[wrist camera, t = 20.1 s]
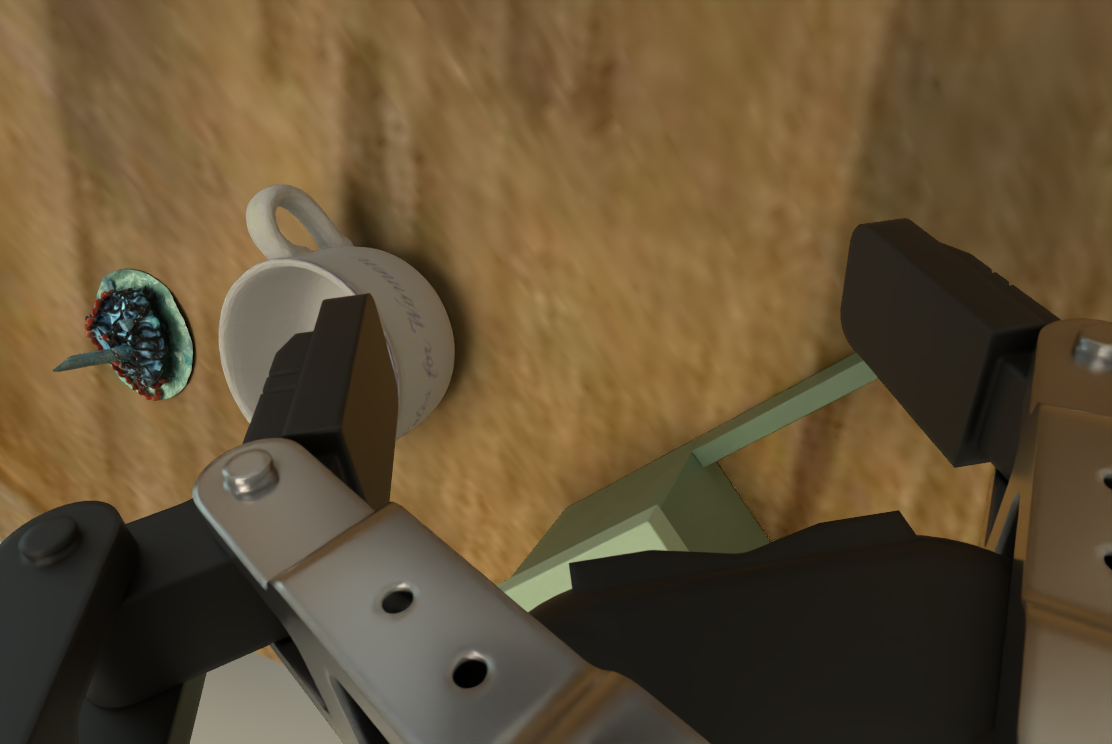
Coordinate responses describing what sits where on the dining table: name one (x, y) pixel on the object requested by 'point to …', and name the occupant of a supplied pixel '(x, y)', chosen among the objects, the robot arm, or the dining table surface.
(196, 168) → the dining table surface
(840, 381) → the olive green stepped block
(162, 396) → the dish
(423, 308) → the teacup
